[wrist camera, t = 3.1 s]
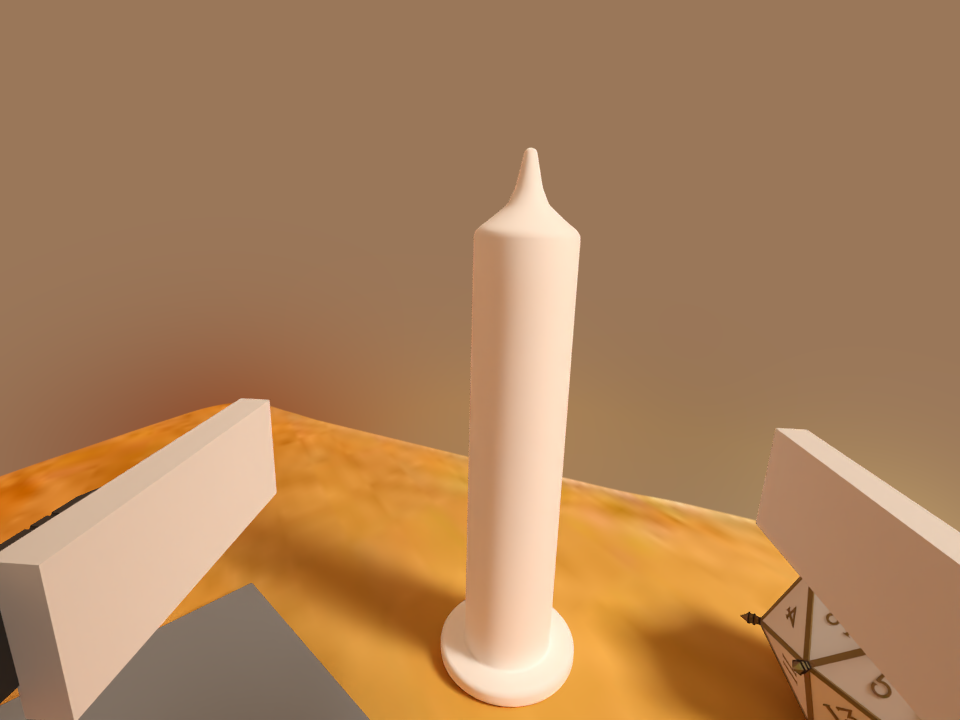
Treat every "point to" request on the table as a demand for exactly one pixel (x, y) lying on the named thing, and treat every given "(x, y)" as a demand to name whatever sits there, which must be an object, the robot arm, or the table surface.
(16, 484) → the table surface
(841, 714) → the game die
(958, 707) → the robot arm
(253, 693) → the slate tile
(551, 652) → the candle
